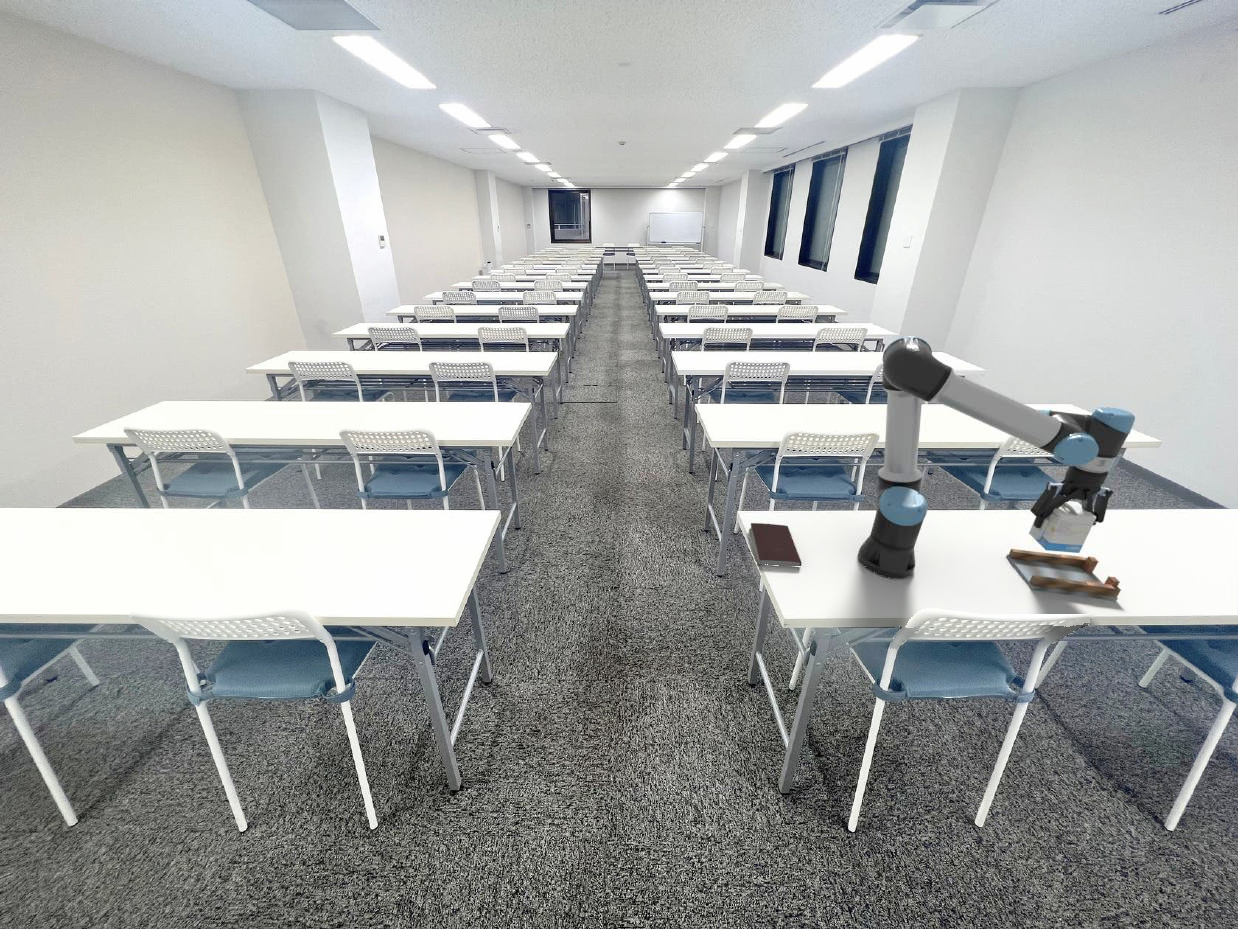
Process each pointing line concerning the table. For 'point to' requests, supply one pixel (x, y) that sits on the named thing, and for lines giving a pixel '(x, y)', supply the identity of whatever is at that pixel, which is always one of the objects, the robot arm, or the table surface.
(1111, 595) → the rail board
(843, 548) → the table surface
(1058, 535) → the ink box
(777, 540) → the book
